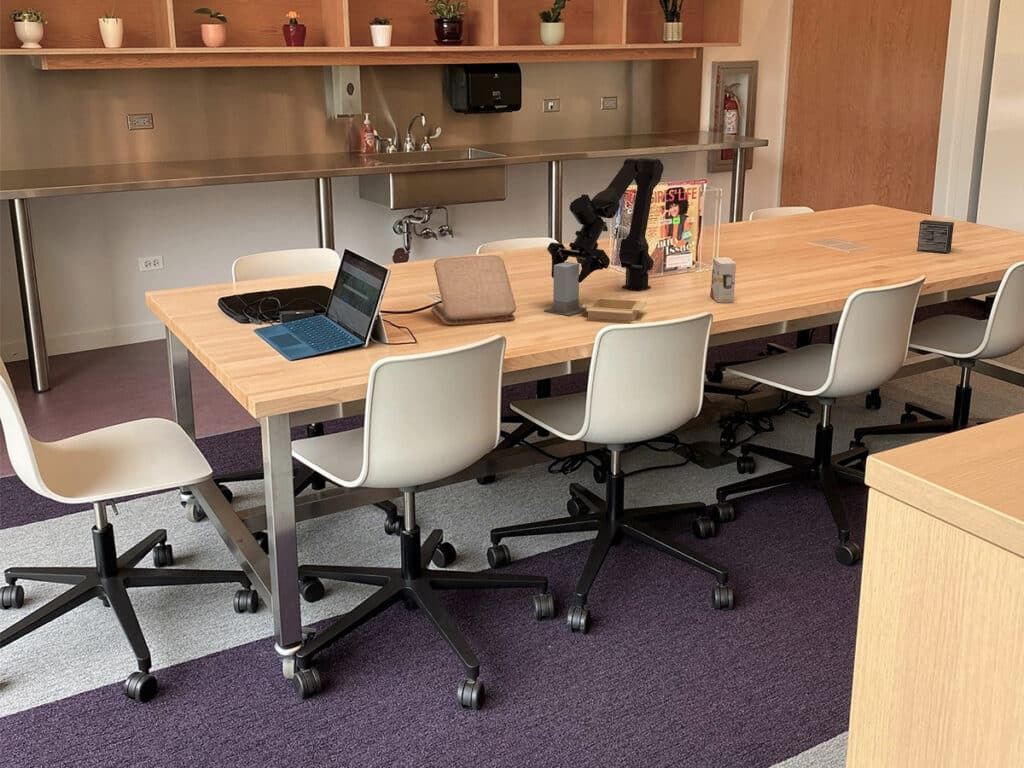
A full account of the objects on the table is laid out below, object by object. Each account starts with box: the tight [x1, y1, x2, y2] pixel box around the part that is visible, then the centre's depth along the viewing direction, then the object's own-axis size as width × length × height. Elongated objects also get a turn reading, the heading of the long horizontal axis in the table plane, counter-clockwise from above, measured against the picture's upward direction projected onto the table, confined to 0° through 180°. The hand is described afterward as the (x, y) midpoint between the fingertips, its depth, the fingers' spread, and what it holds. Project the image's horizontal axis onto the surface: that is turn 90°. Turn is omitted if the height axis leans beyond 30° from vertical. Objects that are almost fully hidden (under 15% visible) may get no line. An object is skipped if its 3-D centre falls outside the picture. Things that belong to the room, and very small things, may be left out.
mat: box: [543, 306, 587, 317], centre depth 317 cm, size 9×9×1 cm
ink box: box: [709, 256, 737, 304], centre depth 327 cm, size 9×5×12 cm, turn 6°
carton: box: [581, 297, 648, 322], centre depth 313 cm, size 18×17×3 cm
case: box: [431, 254, 517, 326], centre depth 311 cm, size 20×21×16 cm
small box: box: [916, 219, 955, 255], centre depth 394 cm, size 11×6×10 cm, turn 58°
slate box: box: [552, 261, 580, 313], centre depth 315 cm, size 6×4×13 cm
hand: (565, 279), depth 314 cm, fingers open, 9 cm apart
